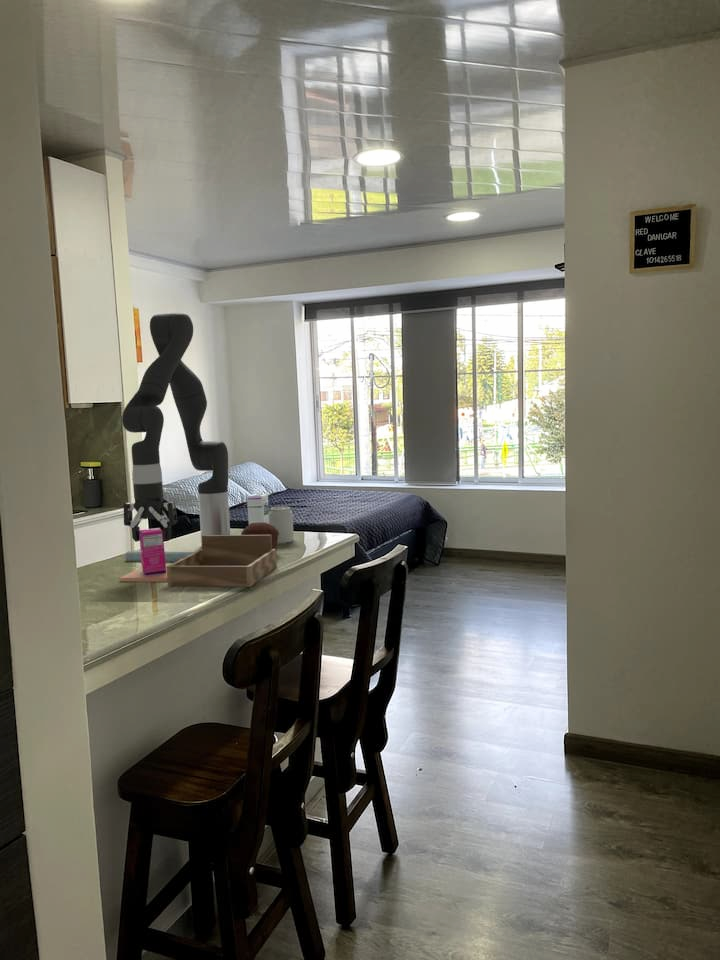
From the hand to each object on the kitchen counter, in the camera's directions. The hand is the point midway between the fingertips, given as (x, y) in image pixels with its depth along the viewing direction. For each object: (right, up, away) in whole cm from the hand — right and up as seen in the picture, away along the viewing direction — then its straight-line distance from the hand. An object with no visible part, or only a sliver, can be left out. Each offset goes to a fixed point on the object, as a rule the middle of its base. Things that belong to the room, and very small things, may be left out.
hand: (152, 540), depth 200 cm
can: (+31, -5, +40) cm, 50 cm away
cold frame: (+20, -9, -3) cm, 22 cm away
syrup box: (+21, -3, +56) cm, 60 cm away
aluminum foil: (-3, -9, +18) cm, 20 cm away
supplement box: (0, -9, +1) cm, 9 cm away
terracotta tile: (0, -9, +1) cm, 10 cm away
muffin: (+26, -7, +21) cm, 35 cm away
